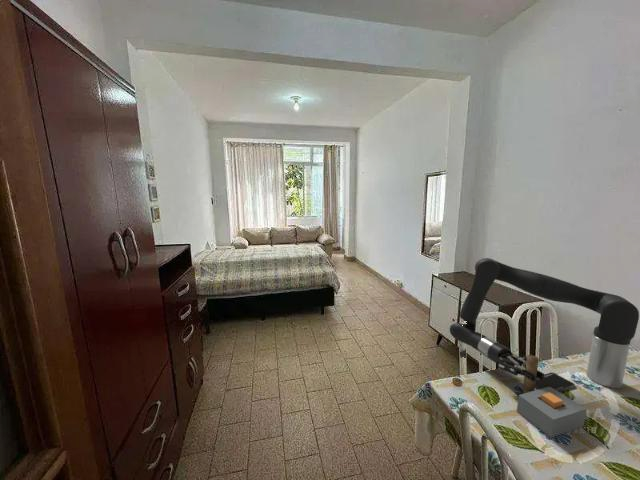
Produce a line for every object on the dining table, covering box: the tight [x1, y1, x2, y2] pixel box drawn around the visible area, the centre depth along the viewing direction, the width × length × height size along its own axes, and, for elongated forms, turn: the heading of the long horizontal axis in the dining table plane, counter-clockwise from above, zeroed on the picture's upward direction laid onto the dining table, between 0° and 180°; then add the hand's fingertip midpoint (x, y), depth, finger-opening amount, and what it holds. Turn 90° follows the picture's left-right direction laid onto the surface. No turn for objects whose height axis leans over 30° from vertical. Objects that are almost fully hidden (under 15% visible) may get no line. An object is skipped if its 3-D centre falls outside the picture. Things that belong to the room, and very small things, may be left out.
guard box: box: [516, 387, 587, 439], centre depth 82 cm, size 14×10×6 cm
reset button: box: [541, 392, 563, 409], centre depth 82 cm, size 4×4×4 cm
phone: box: [535, 372, 576, 393], centre depth 98 cm, size 8×1×15 cm
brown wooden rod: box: [521, 354, 540, 394], centre depth 92 cm, size 3×3×14 cm
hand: (539, 378), depth 89 cm, fingers closed on brown wooden rod, 3 cm apart
